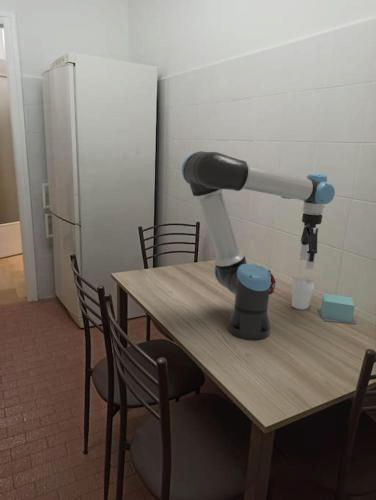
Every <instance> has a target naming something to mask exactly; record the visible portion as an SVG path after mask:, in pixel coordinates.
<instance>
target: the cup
mask: <svg viewBox="0 0 376 500" xmlns="http://www.w3.org/2000/svg"><path fill="white" fill-rule="evenodd" d="M291 281H292V282H291V307H293V308H294V309H297V310H308V309H309V305H310V302H311V299H312V296H313V292H314V289H315V280H314V279H313V278H309V277H306V276H296V277H295V276H294V277H293V278H292V280H291Z"/></svg>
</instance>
